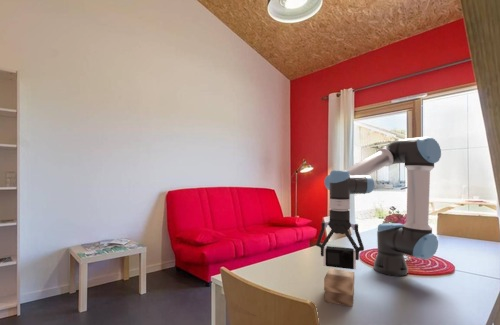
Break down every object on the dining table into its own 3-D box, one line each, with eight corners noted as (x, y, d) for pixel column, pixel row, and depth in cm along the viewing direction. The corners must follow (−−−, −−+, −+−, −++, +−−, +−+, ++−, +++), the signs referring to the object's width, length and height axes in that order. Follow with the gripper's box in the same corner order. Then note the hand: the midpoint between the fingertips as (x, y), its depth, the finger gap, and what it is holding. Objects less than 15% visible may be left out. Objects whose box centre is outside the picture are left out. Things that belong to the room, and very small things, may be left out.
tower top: (354, 283, 115) (354, 272, 115) (352, 295, 104) (352, 282, 104) (328, 279, 119) (328, 268, 119) (324, 290, 108) (324, 278, 108)
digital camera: (325, 267, 111) (325, 249, 112) (326, 262, 117) (326, 245, 117) (353, 270, 108) (353, 252, 108) (353, 266, 113) (353, 248, 113)
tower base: (354, 294, 116) (354, 282, 116) (352, 307, 104) (352, 295, 104) (328, 290, 119) (328, 279, 119) (324, 302, 108) (324, 290, 108)
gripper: (308, 209, 113) (308, 265, 112) (371, 212, 105) (371, 273, 104) (311, 206, 120) (311, 260, 119) (370, 210, 112) (370, 266, 111)
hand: (339, 266), depth 112 cm, fingers closed on digital camera, 10 cm apart
